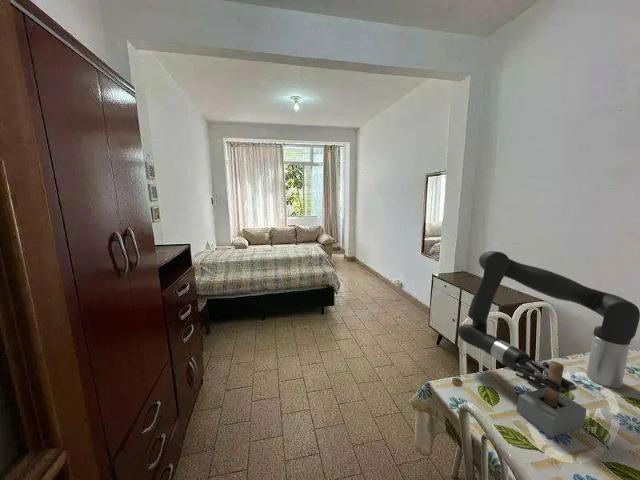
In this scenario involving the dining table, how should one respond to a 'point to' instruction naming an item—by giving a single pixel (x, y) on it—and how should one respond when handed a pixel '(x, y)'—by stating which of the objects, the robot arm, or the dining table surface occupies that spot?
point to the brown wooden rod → (556, 376)
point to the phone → (545, 385)
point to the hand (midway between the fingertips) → (564, 388)
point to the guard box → (551, 413)
